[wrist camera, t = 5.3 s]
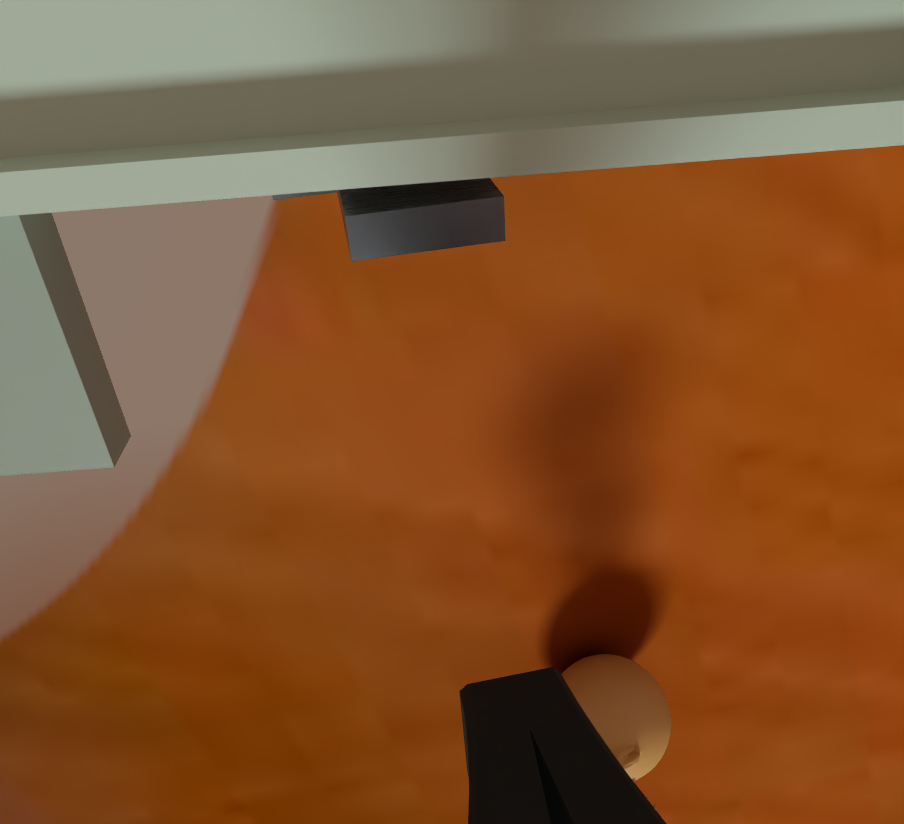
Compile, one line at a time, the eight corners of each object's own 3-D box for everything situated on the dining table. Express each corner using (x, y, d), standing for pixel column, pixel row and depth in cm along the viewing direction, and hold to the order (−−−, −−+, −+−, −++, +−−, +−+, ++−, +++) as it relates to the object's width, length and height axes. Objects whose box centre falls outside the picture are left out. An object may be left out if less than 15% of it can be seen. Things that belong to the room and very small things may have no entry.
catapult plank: (1102, -321, 10) (1289, -380, 8) (903, 375, 15) (981, 452, 13) (-341, -201, 10) (-545, -228, 8) (-23, 448, 15) (-93, 534, 13)
